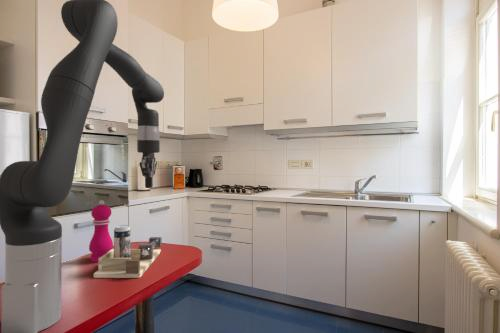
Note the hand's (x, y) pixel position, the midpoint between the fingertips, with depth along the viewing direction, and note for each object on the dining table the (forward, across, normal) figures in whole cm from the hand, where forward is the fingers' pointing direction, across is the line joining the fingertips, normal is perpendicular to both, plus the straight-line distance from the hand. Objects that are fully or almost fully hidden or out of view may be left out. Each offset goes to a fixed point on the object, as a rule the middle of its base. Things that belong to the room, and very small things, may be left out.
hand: (149, 187), depth 102 cm
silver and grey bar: (+22, -4, -2) cm, 22 cm away
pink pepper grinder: (+24, -6, +14) cm, 29 cm away
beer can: (+22, -15, +4) cm, 27 cm away
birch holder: (+24, -10, +3) cm, 26 cm away
